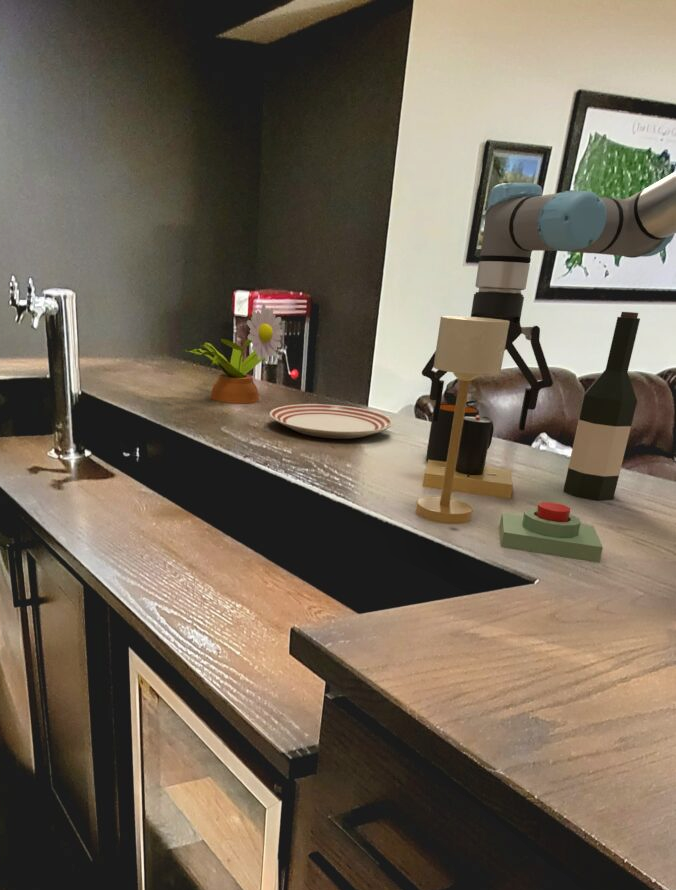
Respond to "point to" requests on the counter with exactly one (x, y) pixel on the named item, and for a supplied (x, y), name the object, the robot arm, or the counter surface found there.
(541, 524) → the switch block
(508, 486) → the tan flat block
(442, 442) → the mug
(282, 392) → the counter surface
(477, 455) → the black cylinder
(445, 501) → the lamp
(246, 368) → the decorative plant
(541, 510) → the lamp button
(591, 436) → the wine bottle
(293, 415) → the dinner plate
